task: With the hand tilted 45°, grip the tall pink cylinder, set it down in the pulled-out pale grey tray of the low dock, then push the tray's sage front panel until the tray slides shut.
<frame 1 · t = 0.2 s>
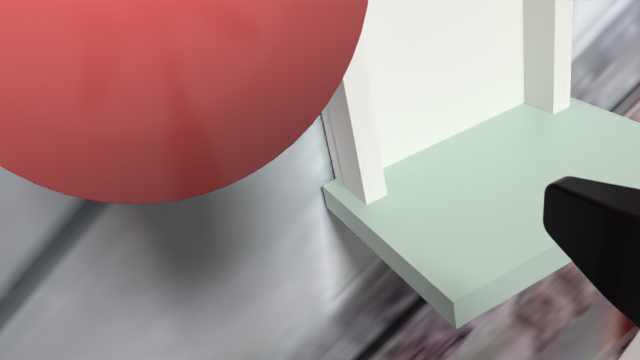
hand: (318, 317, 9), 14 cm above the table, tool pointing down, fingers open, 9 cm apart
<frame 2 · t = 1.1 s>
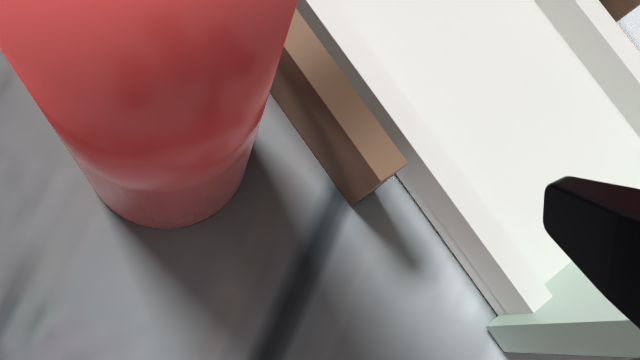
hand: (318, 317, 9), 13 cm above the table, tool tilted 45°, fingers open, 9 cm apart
tray: (533, 38, 22), point 5 cm above the table, slide at 8.0 cm
pink cylinder: (167, 150, 23), on the table
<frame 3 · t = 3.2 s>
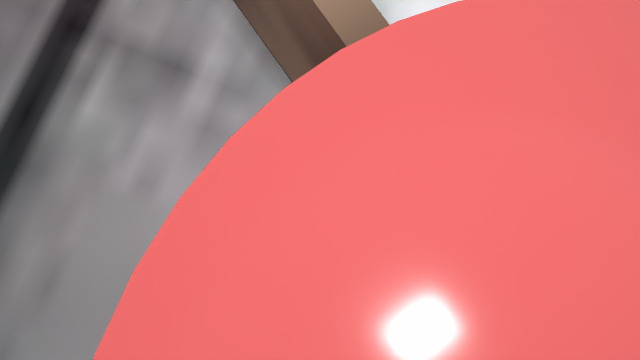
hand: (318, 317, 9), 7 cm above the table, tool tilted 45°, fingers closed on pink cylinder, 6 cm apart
dock: (533, 30, 19), on the table
when the fingers open (8 cm above the table, at t = 7.4 s): pink cylinder stays where it is, resting on tray.
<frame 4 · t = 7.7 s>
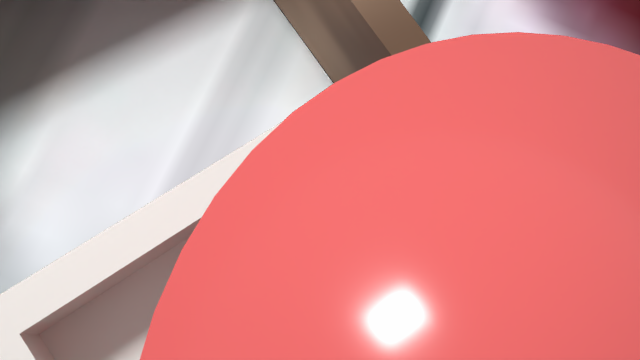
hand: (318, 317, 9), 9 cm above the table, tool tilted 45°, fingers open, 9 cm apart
dock: (182, 227, 18), on the table
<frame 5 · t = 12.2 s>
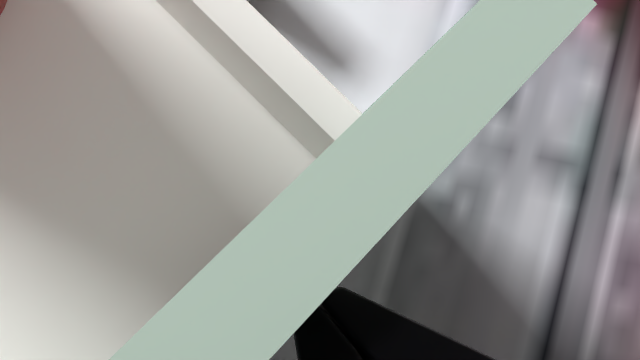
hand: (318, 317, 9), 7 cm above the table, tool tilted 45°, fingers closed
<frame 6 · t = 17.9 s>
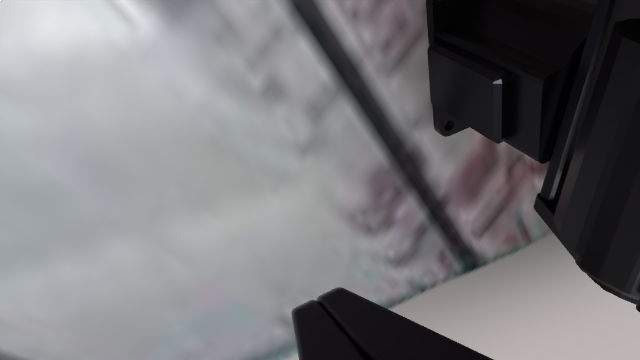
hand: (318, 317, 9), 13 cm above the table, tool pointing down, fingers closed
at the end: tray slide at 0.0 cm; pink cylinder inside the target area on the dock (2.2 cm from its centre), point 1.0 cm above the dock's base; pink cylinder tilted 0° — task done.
